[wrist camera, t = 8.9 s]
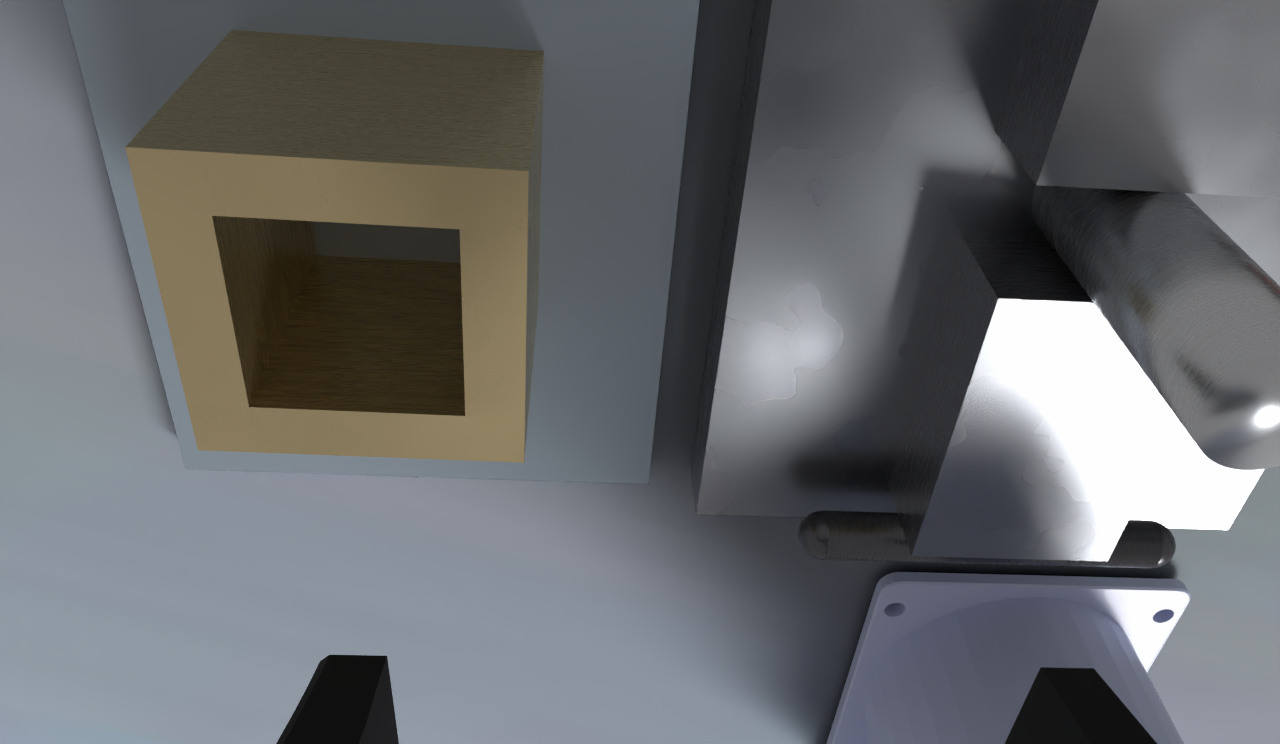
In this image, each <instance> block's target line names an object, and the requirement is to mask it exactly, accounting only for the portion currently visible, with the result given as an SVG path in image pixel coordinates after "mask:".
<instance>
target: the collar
mask: <svg viewBox="0 0 1280 744" xmlns="http://www.w3.org/2000/svg"><path fill="white" fill-rule="evenodd" d="M543 81H544V51H534V50H519V49H504V48H490V47H475V46H460V45H446V44H431V43H416V42H402V41H387V40H372V39H357V38H343V37H328V36H313V35H299V34H284V33H269V32H255V31H240V30H231V31H230V32H229V33H228V34H227V35H226V36H225V38H224V39H223V40H222V41H221V42H220V43H219V44H218V45H217V46H216V47H215V49H214V50H213V51H212V52H211V53H210V54H209V55H208V56H207V57H206V59H205V60H204V61H203V62H202V63H201V64H200V65H199V66H198V67H197V68H196V70H195V71H194V72H193V73H192V74H191V75H190V76H189V77H188V78H187V79H186V81H185V82H184V83H183V84H182V85H181V86H180V87H179V88H178V89H177V91H176V92H175V93H174V94H173V95H172V96H171V97H170V98H169V99H168V100H167V102H166V103H165V104H164V105H163V106H162V107H161V108H160V109H159V110H158V111H157V113H156V114H155V115H154V116H153V117H152V118H151V119H150V120H149V121H148V122H147V124H146V125H145V126H144V127H143V128H142V129H141V130H140V131H139V132H138V134H137V135H136V136H135V137H134V138H133V139H132V140H131V141H130V142H129V143H128V145H127V146H126V147H125V148H126V153H127V157H128V161H129V165H130V169H131V173H132V178H133V182H134V186H135V190H136V194H137V198H138V203H139V207H140V211H141V215H142V219H143V223H144V228H145V232H146V236H147V240H148V244H149V248H150V253H151V257H152V261H153V265H154V269H155V273H156V278H157V282H158V286H159V290H160V294H161V298H162V302H163V307H164V311H165V315H166V319H167V323H168V327H169V332H170V336H171V340H172V344H173V348H174V352H175V357H176V361H177V365H178V369H179V373H180V377H181V382H182V386H183V390H184V394H185V398H186V402H187V407H188V411H189V415H190V419H191V423H192V427H193V432H194V436H195V440H196V444H197V448H198V450H204V451H231V452H257V453H283V454H309V455H336V456H362V457H388V458H414V459H441V460H467V461H493V462H519V463H524V459H525V448H526V437H527V426H528V415H529V404H530V393H531V382H532V370H533V359H534V348H535V337H536V326H537V315H538V295H539V252H540V209H541V166H542V124H543ZM313 221H316V222H335V223H353V224H371V225H389V226H408V227H426V228H444V229H460V259H461V263H455V262H436V261H417V260H397V259H378V258H359V257H340V256H321V255H317V251H316V243H315V236H314V228H313Z"/></svg>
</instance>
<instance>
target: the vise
mask: <svg viewBox="0 0 1280 744" xmlns="http://www.w3.org/2000/svg"><path fill="white" fill-rule="evenodd" d="M1279 465H1280V0H756V2H755V10H754V17H753V24H752V31H751V38H750V46H749V53H748V60H747V67H746V75H745V82H744V89H743V96H742V104H741V111H740V118H739V125H738V133H737V140H736V147H735V154H734V162H733V169H732V176H731V183H730V190H729V198H728V205H727V212H726V219H725V227H724V234H723V241H722V248H721V256H720V263H719V270H718V277H717V285H716V292H715V299H714V306H713V313H712V321H711V328H710V335H709V342H708V350H707V357H706V364H705V371H704V379H703V386H702V393H701V400H700V408H699V415H698V422H697V429H696V436H695V444H694V451H693V458H692V465H691V470H692V479H693V489H694V498H695V507H696V514H703V515H736V516H770V517H804V520H803V521H802V522H801V524H800V527H799V531H798V537H799V542H800V544H801V546H802V548H803V549H804V551H805V552H806V553H807V554H809V555H810V556H812V557H814V558H817V559H823V560H859V561H897V562H934V563H972V564H1009V565H1047V566H1084V567H1122V568H1158V567H1161V566H1163V565H1165V564H1166V563H1168V562H1169V561H1170V560H1171V559H1172V557H1173V555H1174V553H1175V548H1176V544H1175V539H1174V537H1173V535H1172V533H1171V532H1170V530H1169V529H1167V528H1176V529H1209V530H1229V528H1230V526H1231V525H1232V523H1233V521H1234V520H1235V518H1236V516H1237V515H1238V513H1239V511H1240V509H1241V508H1242V506H1243V504H1244V503H1245V501H1246V499H1247V498H1248V496H1249V494H1250V493H1251V491H1252V489H1253V488H1254V486H1255V484H1256V483H1257V481H1258V479H1259V477H1260V476H1261V474H1262V472H1263V471H1264V469H1265V468H1270V467H1275V466H1279Z"/></svg>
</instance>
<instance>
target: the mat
mask: <svg viewBox="0 0 1280 744" xmlns="http://www.w3.org/2000/svg"><path fill="white" fill-rule="evenodd" d="M62 1H63V5H64V9H65V13H66V16H67V20H68V24H69V28H70V32H71V35H72V39H73V43H74V47H75V51H76V54H77V58H78V62H79V66H80V70H81V73H82V77H83V81H84V85H85V89H86V92H87V96H88V100H89V104H90V107H91V111H92V115H93V119H94V123H95V126H96V130H97V134H98V138H99V142H100V145H101V149H102V153H103V157H104V161H105V164H106V168H107V172H108V176H109V180H110V183H111V187H112V191H113V195H114V199H115V202H116V206H117V210H118V214H119V218H120V221H121V225H122V229H123V233H124V237H125V240H126V244H127V248H128V252H129V256H130V259H131V263H132V267H133V271H134V275H135V278H136V282H137V286H138V290H139V294H140V297H141V301H142V305H143V309H144V313H145V316H146V320H147V324H148V328H149V332H150V335H151V339H152V343H153V347H154V351H155V354H156V358H157V362H158V366H159V369H160V373H161V377H162V381H163V385H164V388H165V392H166V396H167V400H168V404H169V407H170V411H171V415H172V419H173V423H174V426H175V430H176V434H177V438H178V442H179V445H180V449H181V453H182V457H183V461H184V464H185V468H186V470H214V471H246V472H278V473H309V474H341V475H373V476H404V477H436V478H468V479H499V480H531V481H563V482H594V483H626V484H649V475H650V465H651V456H652V446H653V437H654V427H655V418H656V408H657V399H658V389H659V380H660V371H661V361H662V352H663V342H664V333H665V323H666V314H667V304H668V295H669V285H670V276H671V266H672V257H673V247H674V238H675V229H676V219H677V210H678V200H679V191H680V181H681V172H682V162H683V153H684V143H685V134H686V124H687V115H688V106H689V96H690V87H691V77H692V68H693V58H694V49H695V39H696V30H697V20H698V11H699V1H700V0H62ZM231 30H240V31H255V32H269V33H284V34H299V35H313V36H328V37H343V38H357V39H372V40H387V41H402V42H416V43H431V44H446V45H460V46H475V47H490V48H504V49H519V50H534V51H544V81H543V124H542V166H541V209H540V252H539V295H538V315H537V326H536V337H535V348H534V359H533V370H532V382H531V393H530V404H529V415H528V426H527V437H526V448H525V459H524V463H519V462H493V461H467V460H441V459H414V458H388V457H362V456H336V455H309V454H283V453H257V452H231V451H204V450H198V448H197V444H196V440H195V436H194V432H193V427H192V423H191V419H190V415H189V411H188V407H187V402H186V398H185V394H184V390H183V386H182V382H181V377H180V373H179V369H178V365H177V361H176V357H175V352H174V348H173V344H172V340H171V336H170V332H169V327H168V323H167V319H166V315H165V311H164V307H163V302H162V298H161V294H160V290H159V286H158V282H157V278H156V273H155V269H154V265H153V261H152V257H151V253H150V248H149V244H148V240H147V236H146V232H145V228H144V223H143V219H142V215H141V211H140V207H139V203H138V198H137V194H136V190H135V186H134V182H133V178H132V173H131V169H130V165H129V161H128V157H127V153H126V148H125V147H126V146H127V145H128V143H129V142H130V141H131V140H132V139H133V138H134V137H135V136H136V135H137V134H138V132H139V131H140V130H141V129H142V128H143V127H144V126H145V125H146V124H147V122H148V121H149V120H150V119H151V118H152V117H153V116H154V115H155V114H156V113H157V111H158V110H159V109H160V108H161V107H162V106H163V105H164V104H165V103H166V102H167V100H168V99H169V98H170V97H171V96H172V95H173V94H174V93H175V92H176V91H177V89H178V88H179V87H180V86H181V85H182V84H183V83H184V82H185V81H186V79H187V78H188V77H189V76H190V75H191V74H192V73H193V72H194V71H195V70H196V68H197V67H198V66H199V65H200V64H201V63H202V62H203V61H204V60H205V59H206V57H207V56H208V55H209V54H210V53H211V52H212V51H213V50H214V49H215V47H216V46H217V45H218V44H219V43H220V42H221V41H222V40H223V39H224V38H225V36H226V35H227V34H228V33H229V32H230V31H231ZM313 228H314V236H315V243H316V251H317V255H321V256H340V257H359V258H378V259H397V260H417V261H436V262H455V263H461V259H460V229H444V228H426V227H408V226H389V225H371V224H353V223H335V222H316V221H313Z"/></svg>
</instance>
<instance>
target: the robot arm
mask: <svg viewBox="0 0 1280 744" xmlns="http://www.w3.org/2000/svg"><path fill="white" fill-rule="evenodd" d="M1190 597H1191V596H1190V594H1189V591H1188V590H1187V588H1186V587H1185V585H1184V583H1182V582H1181V581H1179V580H1175V579H1158V578H1119V577H1081V576H1042V575H1004V574H965V573H927V572H893V573H890V574H887V575H885V576H884V577H883V578H881V579H880V580H879V582H878V583H877V585H876V588H875V591H874V594H873V597H872V600H871V604H870V607H869V610H868V613H867V616H866V620H865V623H864V626H863V629H862V632H861V635H860V639H859V642H858V645H857V648H856V651H855V654H854V658H853V661H852V664H851V667H850V670H849V674H848V677H847V680H846V683H845V686H844V689H843V693H842V696H841V699H840V702H839V705H838V709H837V712H836V715H835V718H834V721H833V724H832V728H831V731H830V734H829V737H828V740H827V744H1184V743H1183V741H1182V739H1181V737H1180V735H1179V733H1178V732H1177V730H1176V728H1175V726H1174V724H1173V722H1172V720H1171V718H1170V716H1169V714H1168V712H1167V710H1166V709H1165V707H1164V705H1163V703H1162V701H1161V699H1160V697H1159V695H1158V693H1157V691H1156V689H1155V687H1154V686H1153V684H1152V682H1151V680H1150V678H1149V676H1148V674H1147V672H1148V670H1149V668H1150V667H1151V665H1152V663H1153V662H1154V660H1155V658H1156V657H1157V655H1158V653H1159V652H1160V650H1161V648H1162V646H1163V645H1164V643H1165V641H1166V640H1167V638H1168V636H1169V635H1170V633H1171V631H1172V630H1173V628H1174V626H1175V625H1176V623H1177V621H1178V620H1179V618H1180V616H1181V615H1182V613H1183V611H1184V610H1185V608H1186V606H1187V605H1188V603H1189V601H1190ZM891 603H894V604H891ZM277 744H399V742H398V735H397V727H396V720H395V712H394V705H393V697H392V690H391V682H390V675H389V668H388V660H387V656H362V655H329V656H327V657H326V658H325V659H323V660H322V661H320V663H319V665H318V667H317V669H316V671H315V673H314V675H313V677H312V679H311V681H310V683H309V685H308V687H307V689H306V691H305V693H304V695H303V696H302V698H301V700H300V702H299V704H298V706H297V708H296V710H295V711H294V713H293V715H292V717H291V719H290V721H289V722H288V724H287V726H286V728H285V729H284V731H283V733H282V735H281V737H280V738H279V740H278V742H277Z"/></svg>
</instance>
